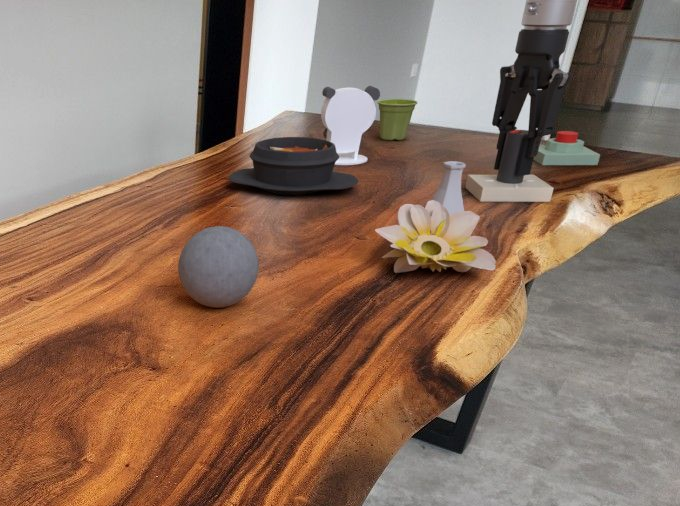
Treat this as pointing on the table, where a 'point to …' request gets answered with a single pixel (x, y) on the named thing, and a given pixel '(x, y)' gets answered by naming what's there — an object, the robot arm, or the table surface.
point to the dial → (511, 157)
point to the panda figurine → (348, 120)
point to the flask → (451, 187)
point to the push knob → (566, 137)
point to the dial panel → (509, 189)
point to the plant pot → (395, 117)
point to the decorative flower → (436, 239)
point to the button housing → (566, 154)
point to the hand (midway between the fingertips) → (511, 171)
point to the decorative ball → (218, 266)
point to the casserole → (294, 167)
